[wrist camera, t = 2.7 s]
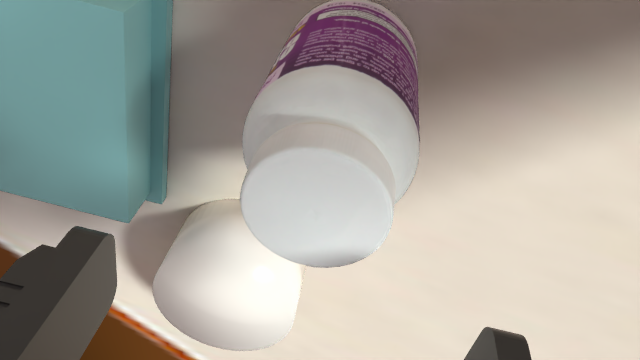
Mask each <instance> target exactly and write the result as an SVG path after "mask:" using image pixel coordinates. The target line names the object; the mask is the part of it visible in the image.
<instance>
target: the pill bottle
mask: <svg viewBox="0 0 640 360" xmlns="http://www.w3.org/2000/svg"><path fill="white" fill-rule="evenodd" d="M242 146H243V154H244V160H245V163H246V167H247V169H248V171H247V173H246V176H245V179H244V182H243V184H242V188H241V193H240V205H241V211H242V215H243V218H244V220H245V223H246V225H247V226H248V228H249V230H250V231H251V232H252V234H253V235H254V236H255V237H256V239H257V240H258V241H259V242H261V244H262V245H264V246H265V247H266V248H268V249H269V250H270V251H272V252H273V253H275V254H277V255H279V256H280V257H283V258H285V259H287V260H289V261H292V262H295V263H298V264H302V265H306V266H311V267H324V268H328V267H340V266H345V265H348V264H352V263H355V262H357V261H360V260H362V259H364V258H366V257H367V256H369V255H370V254H372V253H373V252H374V251H376V250H377V249H378V248H379V247H380V246H381V244H382V243H383V242H384V240H385V239H386V237H387V236H388V233H389V231H390V229H391V226H392V221H393V214H394V205H395V204H396V203H397V202H398V201H399V200H400V199H401V197H402V196H403V195H404V194H405V192H406V191H407V189H408V187H409V186H410V184H411V182H412V180H413V178H414V175H415V173H416V169H417V165H418V160H419V148H420V137H419V107H418V59H417V52H416V47H415V44H414V41H413V38H412V36H411V34H410V32H409V31H408V29H407V28H406V26H405V25H404V24H403V23H402V21H401V20H400V19H399V18H398V17H397V16H396V15H395V14H393V13H392V12H391V11H389V10H388V9H386V8H385V7H384V6H382V5H380V4H377V3H374V2H371V1H367V0H331V1H329V2H326V3H324V4H321V5H319V6H317V7H316V8H314V9H312V10H311V11H310V12H309V13H307V14H306V15H305V16H304V17H303V18H302V19H301V20H300V22H299V23H298V24H297V25H296V27H295V28H294V30H293V31H292V33H291V35H290V36H289V38H288V40H287V41H286V43H285V45H284V47H283V49H282V51H281V52H280V54H279V56H278V58H277V60H276V62H275V63H274V65H273V67H272V69H271V71H270V73H269V75H268V77H267V78H266V80H265V82H264V84H263V86H262V88H261V89H260V91H259V93H258V95H257V96H256V98H255V100H254V102H253V104H252V106H251V109H250V111H249V113H248V116H247V118H246V121H245V125H244V130H243V141H242Z"/></svg>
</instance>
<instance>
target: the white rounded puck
mask: <svg viewBox="0 0 640 360" xmlns="http://www.w3.org/2000/svg"><path fill="white" fill-rule="evenodd" d="M305 270H306V265H302V264H298V263H295V262H292V261H289V260H287V259H285V258H283V257H280V256H279V255H277V254H275V253H273V252H272V251H270V250H269V249H268V248H266V247H265V246H264V245H262V244H261V242H259V241H258V240H257V239H256V237H255V236H254V235H253V234H252V232H251V231H250V230H249V228H248V226H247V225H246V223H245V220H244V218H243V215H242V211H241V205H240V200H239V199H222V200H216V201H212V202H209V203H206V204H203V205H202V206H200V207H198V208H197V209H195V210H194V211H193V212H192V213H191V214H190V215H189V216H188V217H187V219H186V221H185V222H184V224H183V226H182V228H181V230H180V231H179V233H178V235H177V237H176V239H175V241H174V242H173V244H172V246H171V248H170V250H169V251H168V253H167V255H166V257H165V259H164V261H163V262H162V264H161V266H160V268H159V270H158V271H157V273H156V275H155V278H154V281H153V296H154V299H155V302H156V304H157V306H158V308H159V310H160V311H161V313H162V314H163V315H164V317H165V318H166V319H167V320H168V321H169V322H170V323H171V324H172V325H173V326H175V327H176V328H177V329H178V330H180V331H181V332H183V333H184V334H186V335H187V336H189V337H191V338H193V339H195V340H197V341H199V342H201V343H204V344H207V345H210V346H213V347H216V348H221V349H226V350H233V351H252V350H259V349H263V348H267V347H269V346H272V345H274V344H276V343H278V342H279V341H281V340H282V339H283V338H284V337H285V336H286V335H287V334H288V333H289V331H290V330H291V328H292V325H293V322H294V318H295V313H296V309H297V305H298V300H299V296H300V292H301V287H302V283H303V279H304V274H305Z"/></svg>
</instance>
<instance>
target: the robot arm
mask: <svg viewBox="0 0 640 360" xmlns="http://www.w3.org/2000/svg"><path fill="white" fill-rule="evenodd" d="M116 287H117V272H116V253H115V239H114V236H113V235H112V234H108V233H104V232H100V231H95V230H91V229H87V228H83V227H79V226H76V227H73V228H72V229H71V230H70V231H69V232H68V233H67V234H66V236H65V237H64V238H63V239H62V240H61V242H60V243H59V244H58V245H57V247H56V248H55V247H50V246H46V245H41V246H39V247H37V248H36V249H34V250H32V251H31V252H29V253H27V254H26V255H24V256H23V257H21V258H19V259H18V260H16V261H15V263H14V264H13V265H12V266H11V267H10V268H9V269H8V271H7V272H6V273H5V274H4V275H3V277H2V278H1V279H0V360H79V359H80V358H81V356H82V354H83V353H84V351H85V349H86V348H87V346H88V344H89V343H90V341H91V339H92V337H93V336H94V334H95V332H96V331H97V329H98V328H99V326H100V324H101V322H102V321H103V319H104V318H105V316H106V314H107V313H108V311H109V309H110V307H111V304H112V302H113V299H114V296H115V292H116ZM464 360H531V356H530V351H529V347H528V344H527V341H526V339H525V337H524V336H522V335H519V334H515V333H511V332H507V331H503V330H499V329H495V328H490V327H486V328H484V329H483V330H482V332H481V333H480V335H479V336H478V338H477V340H476V341H475V343H474V344H473V346H472V348H471V349H470V351H469V352H468V354H467V356H466V357H465V359H464Z"/></svg>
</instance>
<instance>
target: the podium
mask: <svg viewBox="0 0 640 360" xmlns="http://www.w3.org/2000/svg"><path fill="white" fill-rule="evenodd" d="M172 9H173V0H0V191H4V192H8V193H12V194H16V195H20V196H23V197H27V198H31V199H35V200H39V201H43V202H47V203H51V204H55V205H59V206H63V207H66V208H70V209H74V210H78V211H82V212H86V213H90V214H94V215H98V216H102V217H105V218H109V219H113V220H117V221H121V222H125V223H130V221H131V220H132V218H133V217H134V215H135V214H136V212H137V211H138V209H139V208H140V206H141V205H142V204H143V202H144V201H145V200H147V201H151V202H155V203H159V204H162V203H163V201H164V200H165V198H166V189H167V159H168V129H169V99H170V69H171V39H172Z"/></svg>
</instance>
